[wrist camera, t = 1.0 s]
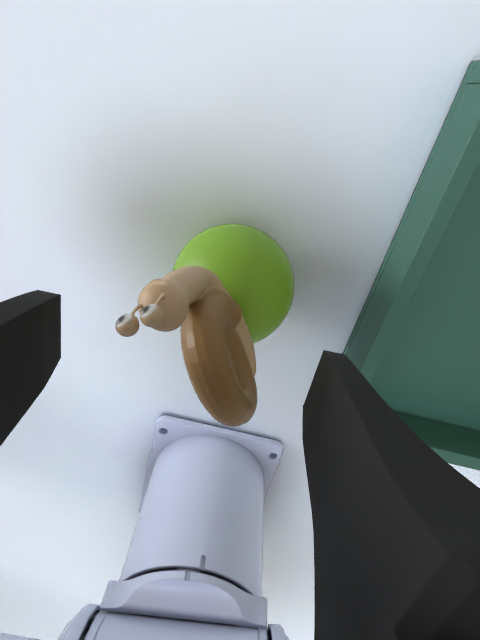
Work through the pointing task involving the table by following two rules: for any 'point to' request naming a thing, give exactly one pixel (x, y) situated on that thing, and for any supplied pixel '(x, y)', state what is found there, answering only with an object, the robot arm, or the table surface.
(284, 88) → the table surface
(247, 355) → the googly-eyed toy snail
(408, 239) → the tray
